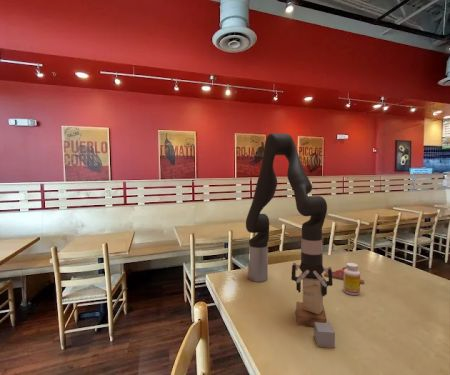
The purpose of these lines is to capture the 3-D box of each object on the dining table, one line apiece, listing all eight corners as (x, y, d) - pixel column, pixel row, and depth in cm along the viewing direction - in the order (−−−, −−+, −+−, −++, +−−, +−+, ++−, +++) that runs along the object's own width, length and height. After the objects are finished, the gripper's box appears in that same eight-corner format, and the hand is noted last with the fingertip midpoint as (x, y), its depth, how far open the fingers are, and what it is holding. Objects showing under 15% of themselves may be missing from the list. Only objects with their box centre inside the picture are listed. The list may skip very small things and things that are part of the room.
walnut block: (296, 326, 92) (296, 315, 92) (296, 311, 102) (296, 301, 101) (326, 330, 90) (326, 319, 89) (323, 314, 99) (323, 304, 99)
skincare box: (302, 309, 96) (301, 277, 95) (307, 304, 99) (306, 273, 98) (319, 315, 91) (318, 281, 91) (324, 309, 95) (322, 277, 94)
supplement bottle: (361, 296, 112) (362, 267, 111) (345, 295, 113) (346, 266, 112) (357, 289, 118) (357, 262, 118) (341, 288, 120) (342, 261, 119)
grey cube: (318, 346, 81) (318, 331, 80) (314, 336, 86) (314, 322, 85) (334, 348, 80) (334, 332, 80) (329, 337, 85) (330, 323, 85)
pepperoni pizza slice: (323, 273, 133) (331, 261, 150) (323, 277, 133) (330, 265, 150) (364, 281, 123) (367, 268, 140) (364, 286, 123) (367, 272, 140)
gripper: (290, 251, 93) (290, 295, 94) (332, 255, 88) (332, 301, 89) (293, 245, 100) (293, 286, 101) (332, 249, 95) (332, 292, 96)
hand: (311, 293), depth 95 cm, fingers open, 8 cm apart
